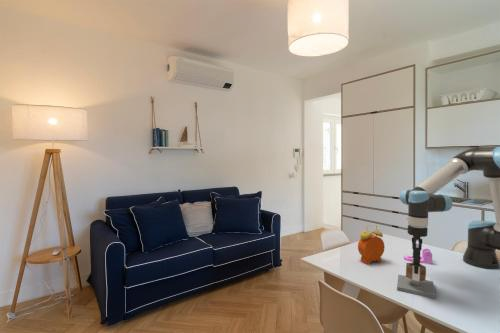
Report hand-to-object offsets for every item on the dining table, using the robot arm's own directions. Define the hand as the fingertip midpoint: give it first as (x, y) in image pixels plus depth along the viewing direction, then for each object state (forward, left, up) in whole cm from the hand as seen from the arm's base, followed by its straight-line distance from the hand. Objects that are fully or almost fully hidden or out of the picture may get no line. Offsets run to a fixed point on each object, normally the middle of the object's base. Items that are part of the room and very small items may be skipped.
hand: (415, 276), depth 122 cm
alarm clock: (+21, -22, -5) cm, 31 cm away
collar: (0, 0, 0) cm, 0 cm away
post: (0, 0, -5) cm, 5 cm away
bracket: (-1, -36, -5) cm, 36 cm away
